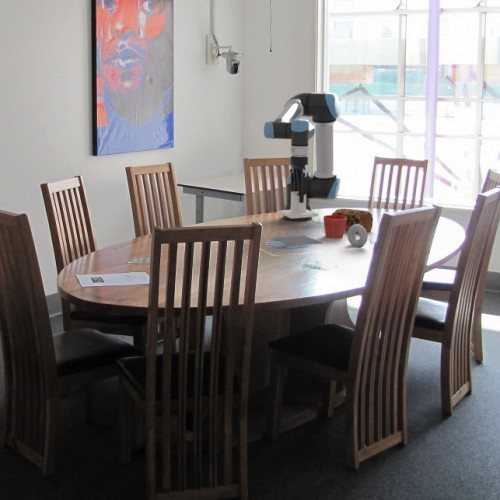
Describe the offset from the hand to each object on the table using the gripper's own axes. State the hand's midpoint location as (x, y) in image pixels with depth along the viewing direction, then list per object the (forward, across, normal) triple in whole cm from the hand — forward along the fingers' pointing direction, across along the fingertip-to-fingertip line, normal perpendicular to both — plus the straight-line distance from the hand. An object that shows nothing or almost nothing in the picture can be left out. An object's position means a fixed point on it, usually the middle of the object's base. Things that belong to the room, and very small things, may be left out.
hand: (298, 209), depth 354 cm
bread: (+16, -17, +37) cm, 44 cm away
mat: (+15, 0, 0) cm, 15 cm away
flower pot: (+15, -2, +20) cm, 25 cm away
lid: (+2, 0, 0) cm, 2 cm away
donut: (+15, +19, +19) cm, 31 cm away
